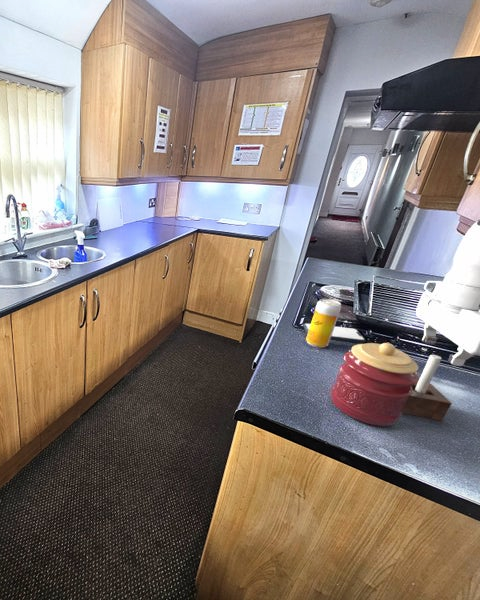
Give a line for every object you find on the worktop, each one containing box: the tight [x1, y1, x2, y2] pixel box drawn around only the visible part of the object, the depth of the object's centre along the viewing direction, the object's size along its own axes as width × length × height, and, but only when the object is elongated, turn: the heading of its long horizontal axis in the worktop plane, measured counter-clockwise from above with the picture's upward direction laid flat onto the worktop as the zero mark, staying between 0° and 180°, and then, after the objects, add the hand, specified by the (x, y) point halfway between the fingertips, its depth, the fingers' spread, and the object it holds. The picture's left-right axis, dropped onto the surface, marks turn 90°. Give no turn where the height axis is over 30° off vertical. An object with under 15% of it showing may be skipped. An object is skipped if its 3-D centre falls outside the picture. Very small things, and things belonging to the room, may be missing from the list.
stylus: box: [414, 354, 442, 394], centre depth 76 cm, size 2×2×14 cm
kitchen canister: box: [329, 342, 420, 427], centre depth 75 cm, size 13×13×18 cm
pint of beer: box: [305, 298, 342, 349], centre depth 103 cm, size 6×6×15 cm
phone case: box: [302, 322, 366, 344], centre depth 112 cm, size 9×2×16 cm
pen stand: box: [402, 382, 453, 422], centre depth 78 cm, size 8×8×5 cm
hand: (440, 352), depth 73 cm, fingers open, 8 cm apart
